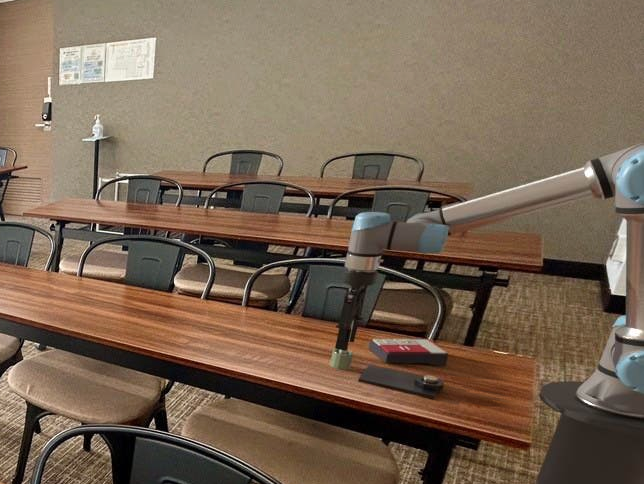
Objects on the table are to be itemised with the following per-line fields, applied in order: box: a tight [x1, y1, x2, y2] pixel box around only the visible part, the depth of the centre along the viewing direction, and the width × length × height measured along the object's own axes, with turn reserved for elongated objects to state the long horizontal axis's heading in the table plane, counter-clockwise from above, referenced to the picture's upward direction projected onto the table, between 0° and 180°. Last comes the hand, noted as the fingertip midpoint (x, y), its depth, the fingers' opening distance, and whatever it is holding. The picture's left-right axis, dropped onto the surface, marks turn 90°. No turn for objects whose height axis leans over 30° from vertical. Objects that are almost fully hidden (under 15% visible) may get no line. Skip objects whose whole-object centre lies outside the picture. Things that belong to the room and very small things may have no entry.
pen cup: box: [329, 348, 354, 371], centre depth 168 cm, size 5×5×5 cm
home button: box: [423, 374, 439, 384], centre depth 153 cm, size 3×3×1 cm
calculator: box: [368, 338, 450, 366], centre depth 171 cm, size 11×4×15 cm
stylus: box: [339, 321, 354, 355], centre depth 166 cm, size 2×2×15 cm
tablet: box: [357, 364, 445, 400], centre depth 157 cm, size 17×12×2 cm
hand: (344, 345), depth 167 cm, fingers open, 7 cm apart
